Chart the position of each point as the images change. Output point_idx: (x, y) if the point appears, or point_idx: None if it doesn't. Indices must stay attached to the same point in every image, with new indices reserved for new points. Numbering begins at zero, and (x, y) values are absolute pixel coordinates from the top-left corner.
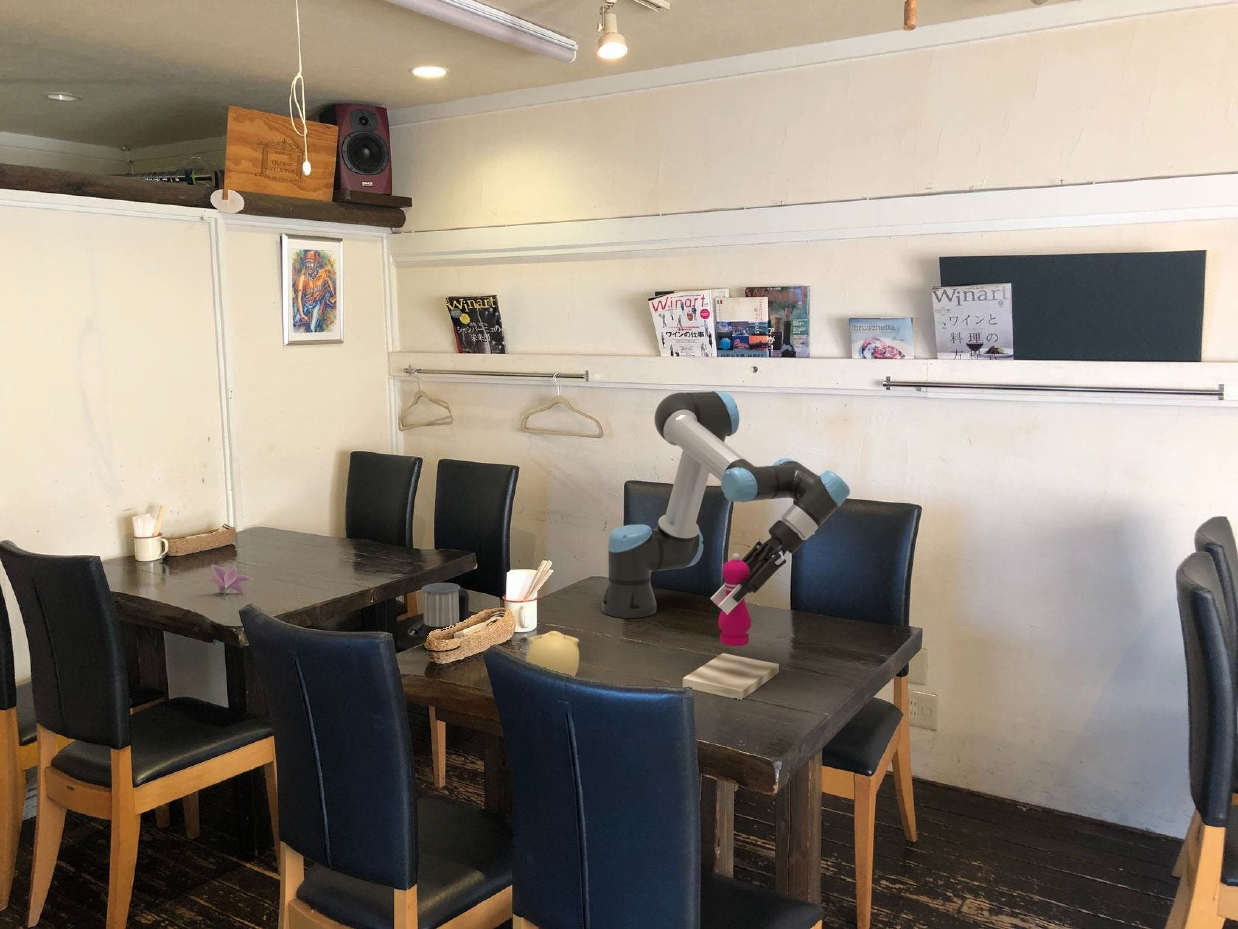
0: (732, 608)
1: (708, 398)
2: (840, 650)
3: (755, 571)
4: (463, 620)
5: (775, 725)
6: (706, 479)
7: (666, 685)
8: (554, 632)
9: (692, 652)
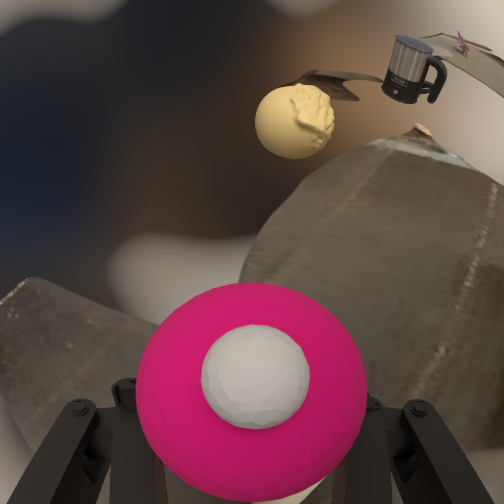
0: None
1: None
2: None
3: (112, 499)
4: (429, 93)
5: (36, 389)
6: None
7: (245, 279)
8: (310, 94)
9: (421, 367)
